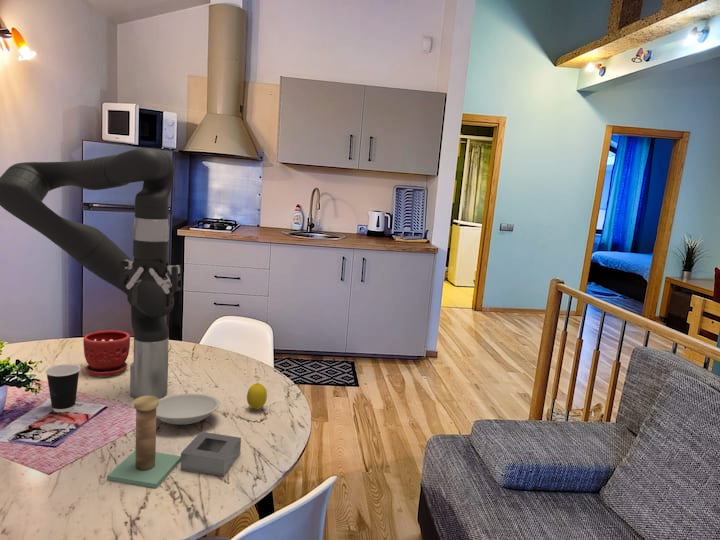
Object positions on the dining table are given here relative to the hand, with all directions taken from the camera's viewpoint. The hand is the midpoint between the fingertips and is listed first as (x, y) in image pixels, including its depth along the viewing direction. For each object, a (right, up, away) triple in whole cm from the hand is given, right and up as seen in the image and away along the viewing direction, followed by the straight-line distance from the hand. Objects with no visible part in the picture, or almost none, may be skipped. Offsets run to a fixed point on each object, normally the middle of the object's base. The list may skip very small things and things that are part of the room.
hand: (150, 306), depth 118 cm
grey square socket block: (+15, -35, -2) cm, 39 cm away
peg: (+2, -34, -8) cm, 35 cm away
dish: (+3, -32, +14) cm, 35 cm away
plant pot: (-31, -24, +42) cm, 57 cm away
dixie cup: (-30, -29, +16) cm, 44 cm away
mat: (+2, -35, -8) cm, 36 cm away
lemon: (+20, -31, +25) cm, 45 cm away
